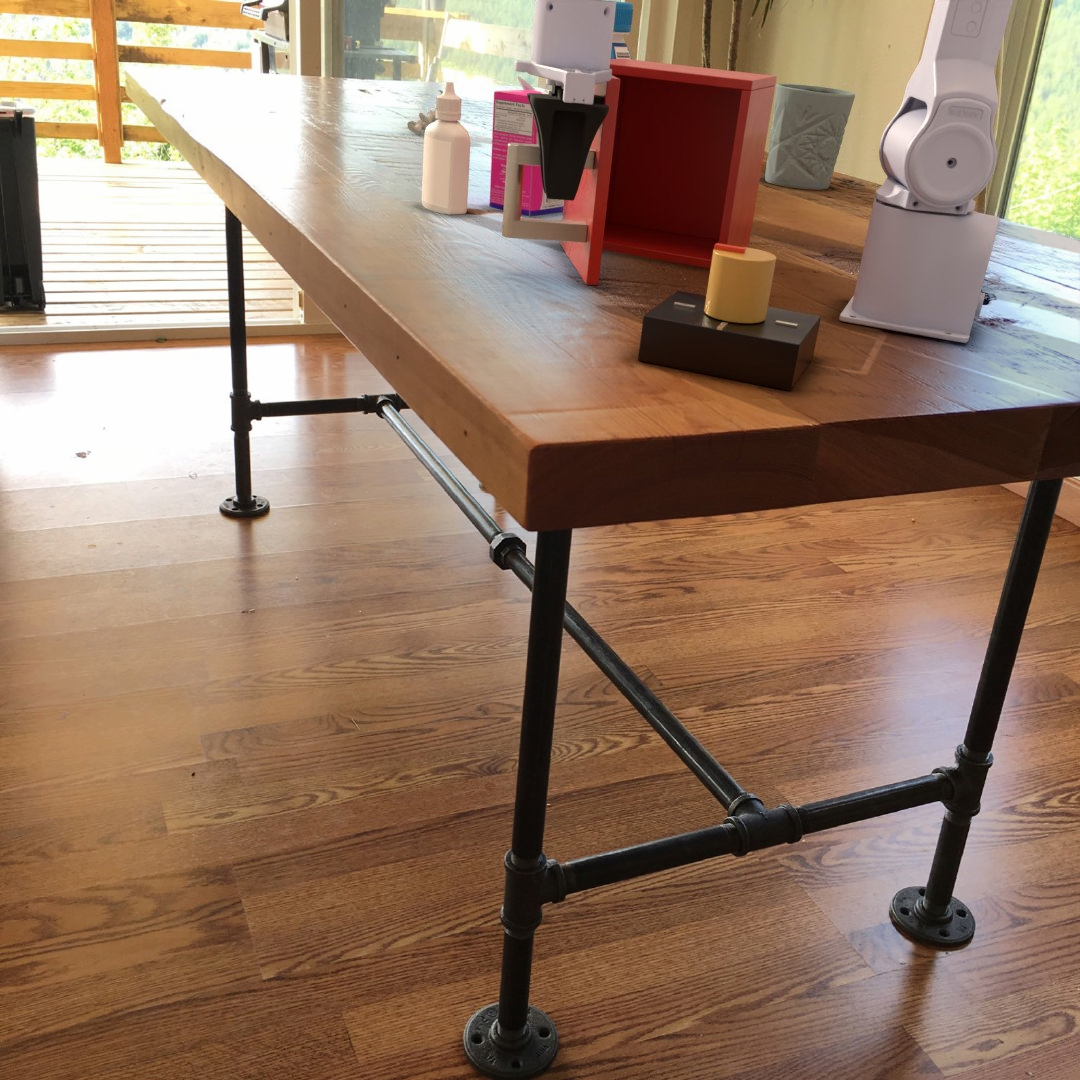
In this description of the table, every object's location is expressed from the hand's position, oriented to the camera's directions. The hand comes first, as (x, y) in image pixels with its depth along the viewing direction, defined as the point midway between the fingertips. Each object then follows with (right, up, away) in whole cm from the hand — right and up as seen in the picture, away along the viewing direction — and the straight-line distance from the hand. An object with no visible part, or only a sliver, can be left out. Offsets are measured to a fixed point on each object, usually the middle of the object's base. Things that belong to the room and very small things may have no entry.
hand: (558, 196), depth 85 cm
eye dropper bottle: (-11, +7, +27) cm, 30 cm away
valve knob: (+11, -11, -12) cm, 20 cm away
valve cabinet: (+10, +1, +20) cm, 22 cm away
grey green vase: (+33, +21, +65) cm, 76 cm away
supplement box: (-3, +8, +32) cm, 33 cm away
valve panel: (+11, -14, -11) cm, 21 cm away
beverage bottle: (+4, +16, +50) cm, 52 cm away
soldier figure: (-18, +35, +82) cm, 91 cm away
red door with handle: (-2, -2, +10) cm, 10 cm away
